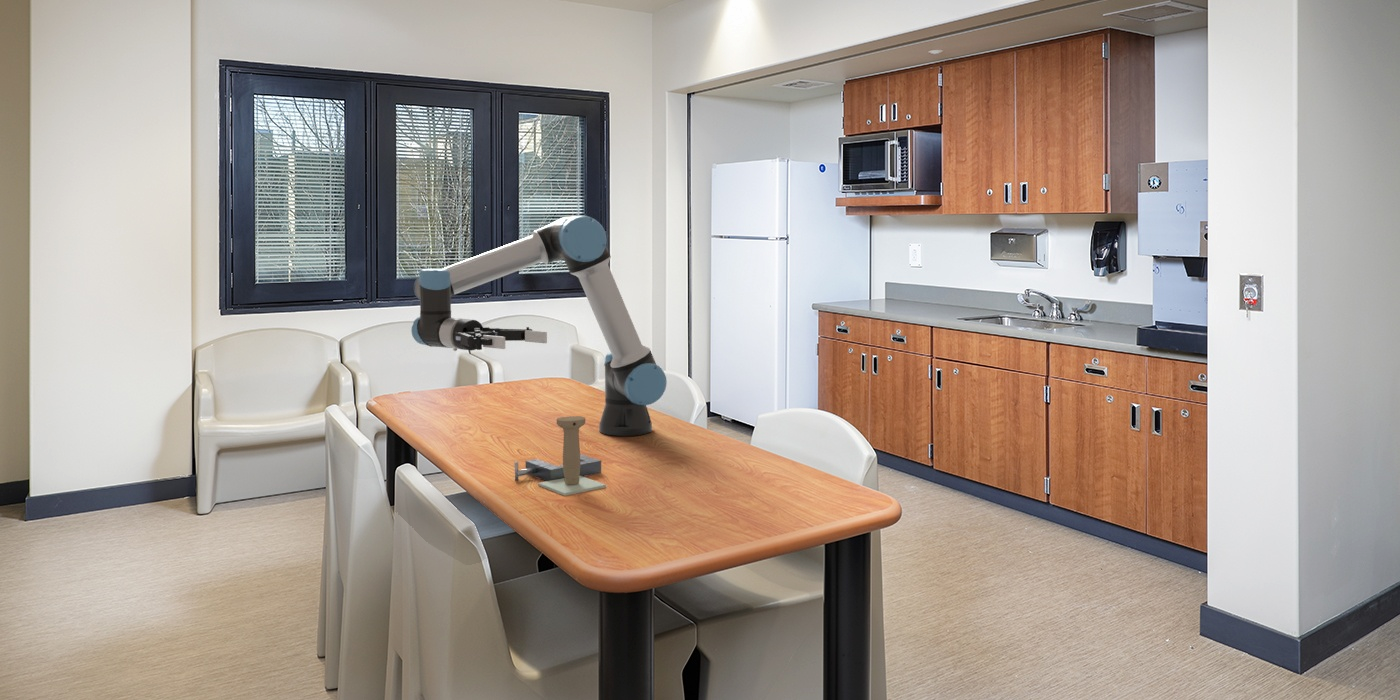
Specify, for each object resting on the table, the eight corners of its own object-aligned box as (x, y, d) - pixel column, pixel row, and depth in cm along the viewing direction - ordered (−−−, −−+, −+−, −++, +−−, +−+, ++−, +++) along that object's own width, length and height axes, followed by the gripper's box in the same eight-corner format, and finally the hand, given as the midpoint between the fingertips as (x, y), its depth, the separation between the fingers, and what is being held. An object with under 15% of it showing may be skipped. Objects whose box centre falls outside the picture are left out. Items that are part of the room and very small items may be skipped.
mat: (579, 477, 225) (578, 475, 225) (606, 487, 217) (606, 484, 217) (538, 485, 218) (538, 482, 218) (564, 495, 210) (564, 493, 210)
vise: (575, 464, 238) (575, 446, 238) (601, 472, 230) (601, 454, 229) (505, 476, 226) (505, 458, 225) (530, 486, 217) (529, 467, 217)
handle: (588, 484, 217) (588, 419, 215) (561, 488, 214) (560, 421, 212) (582, 479, 221) (581, 415, 219) (555, 482, 218) (554, 417, 217)
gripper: (500, 344, 247) (562, 350, 235) (422, 354, 226) (485, 362, 215) (499, 315, 246) (561, 320, 234) (421, 322, 225) (485, 328, 214)
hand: (525, 340), depth 224 cm, fingers open, 13 cm apart
